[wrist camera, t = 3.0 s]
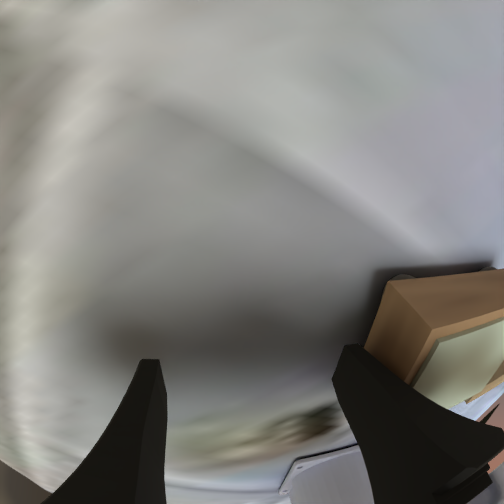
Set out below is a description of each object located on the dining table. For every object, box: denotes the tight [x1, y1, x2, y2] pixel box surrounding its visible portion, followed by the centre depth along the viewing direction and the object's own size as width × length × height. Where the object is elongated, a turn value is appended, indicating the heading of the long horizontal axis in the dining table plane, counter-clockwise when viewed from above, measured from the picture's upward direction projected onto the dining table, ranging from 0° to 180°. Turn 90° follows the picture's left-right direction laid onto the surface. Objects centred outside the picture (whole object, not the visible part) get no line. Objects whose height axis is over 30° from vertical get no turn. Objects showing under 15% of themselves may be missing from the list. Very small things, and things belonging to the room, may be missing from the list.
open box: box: [364, 267, 504, 409], centre depth 11 cm, size 7×9×4 cm
